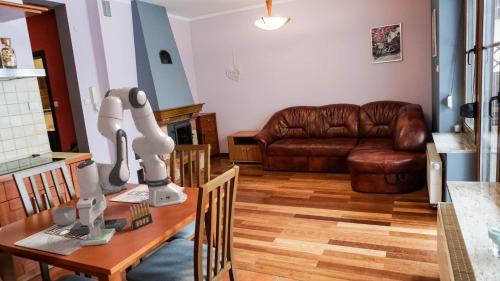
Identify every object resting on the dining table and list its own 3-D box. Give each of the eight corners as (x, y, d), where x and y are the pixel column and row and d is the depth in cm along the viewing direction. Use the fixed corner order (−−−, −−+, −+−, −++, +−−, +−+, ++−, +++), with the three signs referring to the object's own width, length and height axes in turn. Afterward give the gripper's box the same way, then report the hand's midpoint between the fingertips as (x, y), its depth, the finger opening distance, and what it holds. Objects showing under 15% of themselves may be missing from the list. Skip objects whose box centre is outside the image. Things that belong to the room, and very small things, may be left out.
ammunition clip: (133, 230, 160) (129, 207, 158) (131, 230, 161) (127, 206, 159) (152, 222, 168) (149, 199, 166) (150, 221, 169) (147, 199, 167)
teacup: (56, 221, 178) (53, 207, 177) (78, 217, 182) (76, 203, 181) (52, 232, 166) (49, 217, 164) (77, 226, 170) (74, 212, 168)
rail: (126, 223, 169) (126, 217, 169) (121, 230, 161) (120, 224, 161) (78, 227, 168) (77, 222, 168) (71, 235, 161) (70, 229, 160)
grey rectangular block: (106, 235, 157) (103, 217, 155) (102, 240, 152) (99, 222, 150) (95, 236, 157) (92, 218, 155) (91, 241, 152) (88, 223, 150)
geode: (122, 186, 232) (122, 172, 230) (130, 191, 224) (129, 177, 222) (92, 194, 218) (91, 179, 215) (99, 199, 210) (98, 185, 208)
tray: (115, 232, 160) (114, 228, 160) (106, 243, 149) (106, 239, 149) (92, 234, 160) (91, 230, 159) (81, 246, 149) (81, 242, 148)
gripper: (94, 189, 160) (98, 216, 163) (74, 206, 140) (80, 236, 143) (107, 188, 161) (112, 215, 163) (89, 204, 141) (95, 235, 143)
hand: (96, 225), depth 153 cm, fingers open, 8 cm apart
